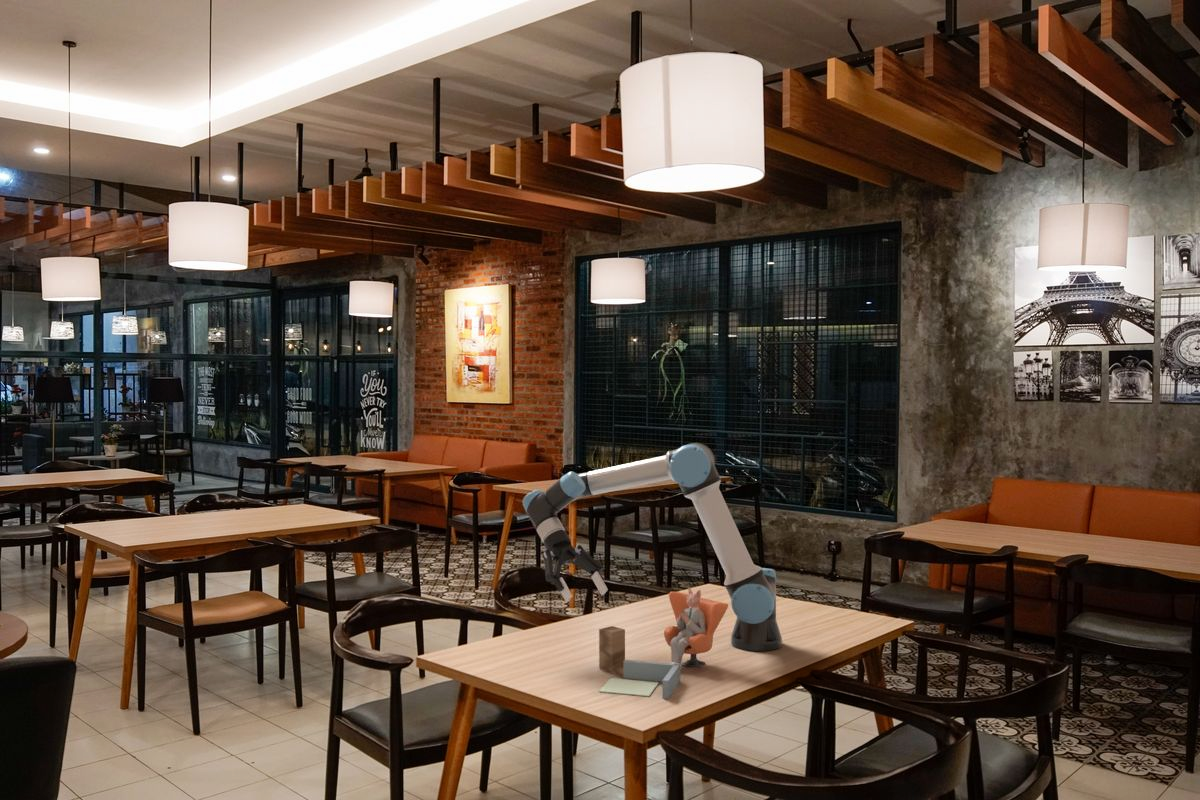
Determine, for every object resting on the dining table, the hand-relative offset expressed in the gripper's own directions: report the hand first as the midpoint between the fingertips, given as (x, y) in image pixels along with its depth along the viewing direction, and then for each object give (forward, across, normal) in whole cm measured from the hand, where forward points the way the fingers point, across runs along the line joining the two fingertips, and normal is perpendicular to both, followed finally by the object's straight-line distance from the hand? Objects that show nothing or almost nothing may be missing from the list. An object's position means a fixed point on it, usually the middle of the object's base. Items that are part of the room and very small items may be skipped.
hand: (587, 596), depth 263 cm
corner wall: (+33, +5, +8) cm, 35 cm away
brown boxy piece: (+23, +1, -2) cm, 23 cm away
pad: (+31, +9, +6) cm, 33 cm away
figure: (+30, -15, +5) cm, 34 cm away
